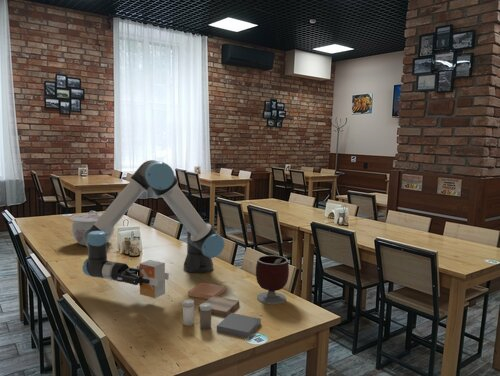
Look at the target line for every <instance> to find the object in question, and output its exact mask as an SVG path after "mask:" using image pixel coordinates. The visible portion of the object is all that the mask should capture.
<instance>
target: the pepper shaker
mask: <svg viewBox="0 0 500 376" xmlns="http://www.w3.org/2000/svg"><path fill="white" fill-rule="evenodd" d="M199 306H200V311H199V328H200V329H201V330H204V331H207V330H210V329H211V328H212V314H211V309H212V305H211V304H210V303H204V302H203V303H200V305H199Z"/></svg>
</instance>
